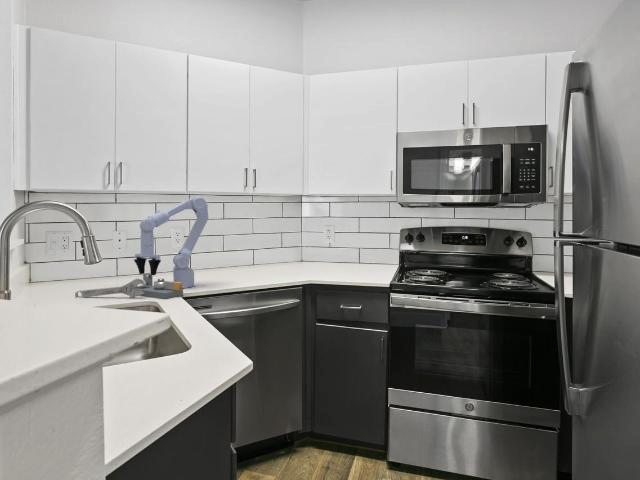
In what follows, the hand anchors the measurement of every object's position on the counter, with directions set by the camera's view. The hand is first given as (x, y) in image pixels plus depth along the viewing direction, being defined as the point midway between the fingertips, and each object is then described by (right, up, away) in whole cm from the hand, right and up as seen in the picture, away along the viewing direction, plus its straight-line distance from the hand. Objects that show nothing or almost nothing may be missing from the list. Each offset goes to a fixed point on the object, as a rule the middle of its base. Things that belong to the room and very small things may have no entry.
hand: (147, 274), depth 215 cm
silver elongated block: (+14, -5, -14) cm, 21 cm away
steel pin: (0, -7, 0) cm, 7 cm away
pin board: (+8, -8, -13) cm, 17 cm away
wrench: (-8, -9, -20) cm, 23 cm away
